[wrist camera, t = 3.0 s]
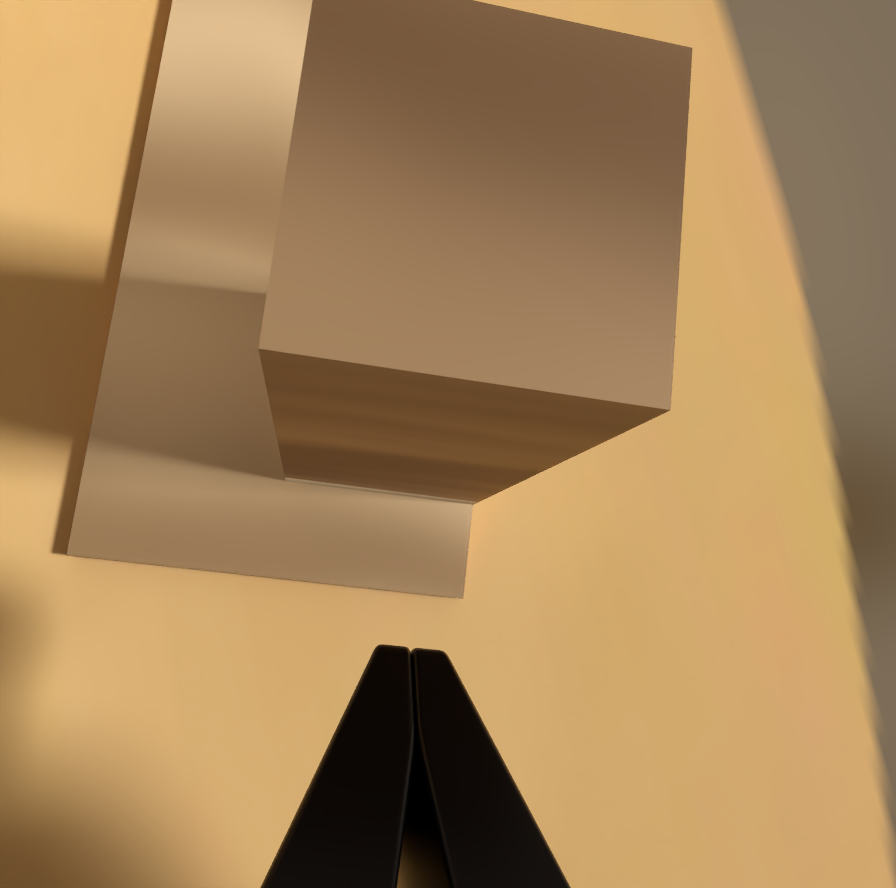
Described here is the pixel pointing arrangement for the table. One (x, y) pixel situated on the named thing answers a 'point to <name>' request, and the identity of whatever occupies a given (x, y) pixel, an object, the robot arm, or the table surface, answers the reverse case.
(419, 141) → the walnut block
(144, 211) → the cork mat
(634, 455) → the table surface
